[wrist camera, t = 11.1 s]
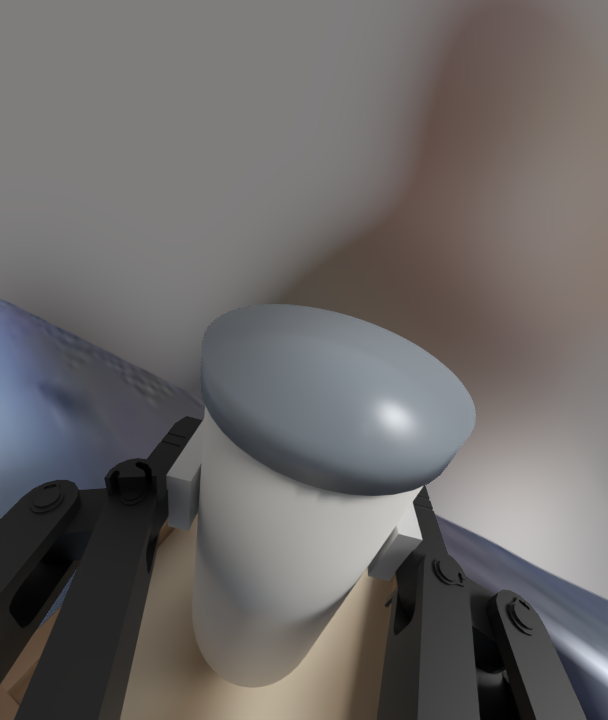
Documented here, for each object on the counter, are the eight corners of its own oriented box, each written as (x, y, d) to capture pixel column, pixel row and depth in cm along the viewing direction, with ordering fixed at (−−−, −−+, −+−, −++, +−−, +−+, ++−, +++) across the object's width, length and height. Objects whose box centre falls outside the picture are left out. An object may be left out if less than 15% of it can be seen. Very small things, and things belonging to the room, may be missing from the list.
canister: (327, 536, 17) (425, 335, 10) (321, 712, 11) (553, 503, 4) (221, 509, 17) (250, 290, 10) (156, 671, 11) (124, 393, 4)
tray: (405, 560, 20) (419, 542, 19) (348, 1207, 7) (385, 1288, 5) (230, 458, 24) (232, 439, 23) (-22, 725, 11) (-47, 711, 10)
